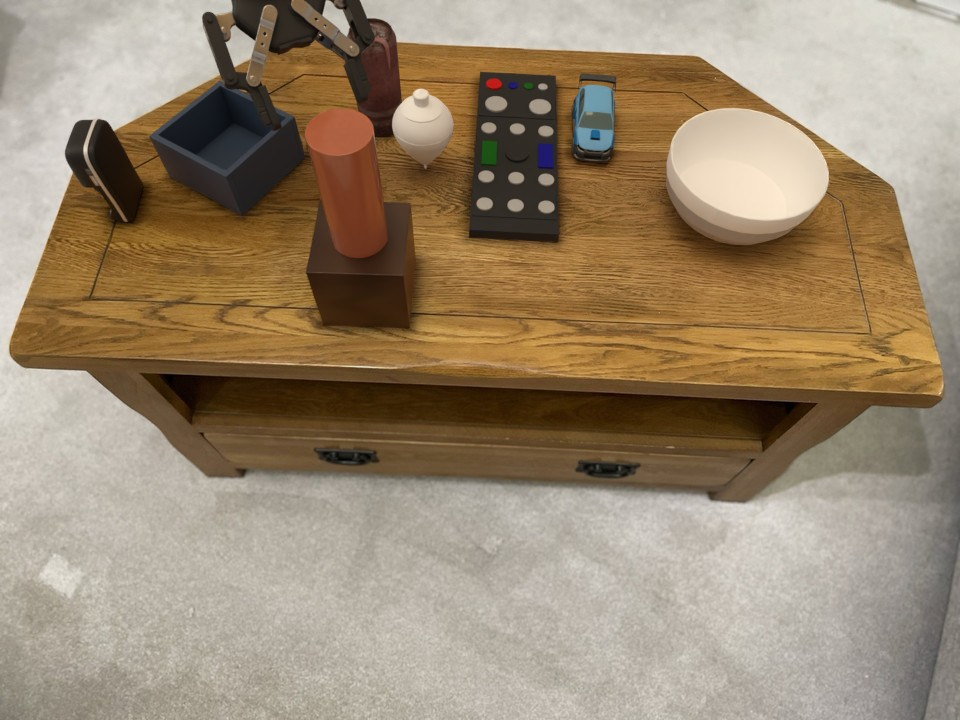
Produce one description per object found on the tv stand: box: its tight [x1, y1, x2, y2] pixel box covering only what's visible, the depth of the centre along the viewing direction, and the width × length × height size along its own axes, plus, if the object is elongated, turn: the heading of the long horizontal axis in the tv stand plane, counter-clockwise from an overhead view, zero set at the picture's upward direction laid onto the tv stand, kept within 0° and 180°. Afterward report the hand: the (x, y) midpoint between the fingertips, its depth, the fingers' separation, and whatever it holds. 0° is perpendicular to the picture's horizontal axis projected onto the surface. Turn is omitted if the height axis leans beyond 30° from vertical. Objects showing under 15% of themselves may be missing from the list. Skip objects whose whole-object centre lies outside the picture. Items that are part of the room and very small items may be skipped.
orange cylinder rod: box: [304, 107, 388, 258], centre depth 64 cm, size 6×6×14 cm
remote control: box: [468, 71, 560, 243], centre depth 90 cm, size 11×30×2 cm, turn 177°
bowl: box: [665, 107, 830, 246], centre depth 83 cm, size 19×19×9 cm
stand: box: [305, 199, 417, 329], centre depth 75 cm, size 10×10×10 cm
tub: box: [148, 80, 306, 217], centre depth 86 cm, size 13×13×7 cm
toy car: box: [570, 72, 617, 164], centre depth 91 cm, size 6×12×6 cm, turn 175°
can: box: [346, 17, 403, 137], centre depth 87 cm, size 6×6×14 cm
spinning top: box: [392, 88, 454, 170], centre depth 84 cm, size 8×8×12 cm
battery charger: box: [64, 118, 144, 223], centre depth 80 cm, size 7×4×11 cm, turn 3°
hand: (321, 115), depth 62 cm, fingers open, 8 cm apart
